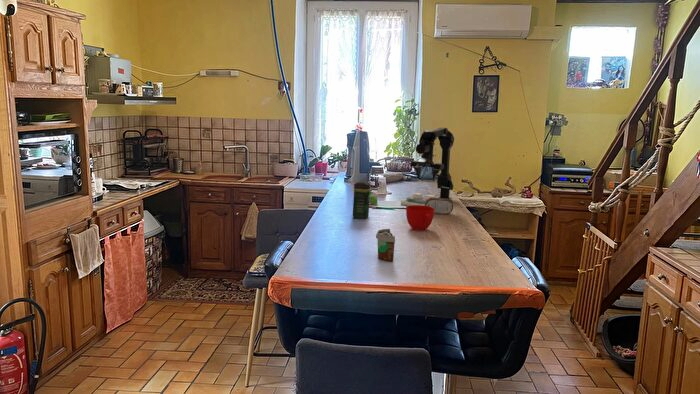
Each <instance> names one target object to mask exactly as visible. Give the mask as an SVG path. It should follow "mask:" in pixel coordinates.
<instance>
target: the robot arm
mask: <svg viewBox="0 0 700 394" xmlns="http://www.w3.org/2000/svg"><path fill="white" fill-rule="evenodd" d="M437 139H438V141H439V146H440V148H441V161H440V162H441V163H438V162H437V163H434V161H433V158H434V156H435V154H434V145H435V141H436V140H437ZM418 142H419V143H418V144H417V145H416V146H415V152H416V153H417V154H419V155H421V157H420V158H419V159H418V160H412V161H411V162H410V167H412V168H413V169H414V170H415V173H416V175H417V176H416V177H417V180H420V179H421V173H422V172H421V171H422V168H426V167H427V168H428V167H429V168H433V169H432V171H433V172H432V174H433V175H432V182H435V180H436V178H437V180H436V185H437V189H440V191H439V197H437V198H445V199H449V200H452V197H450V192H451V191H454V184H453V181H452V175H451V174H450V160H451V149H452V147H453V146H454V142H455V137H454V134H453V133H452V132H451V131H449V129H448V128H447V127H438V128H436V129H434V130H433V129H432V130H423V131H422V134H421V135H420V138H419V139H418ZM438 174H439V175H438Z"/></svg>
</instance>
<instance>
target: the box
mask: <svg viewBox="0 0 700 394" xmlns="http://www.w3.org/2000/svg"><path fill="white" fill-rule="evenodd" d="M412 202H415V200H414V201H411V200H409V201H408V199H407V198H406V199H404V200H401V201H400V205H401V204H402V205H401V206H405V205H407V206H412V205H421V206H425V203H426V202H423V203H422V202H420V203H421V204H420V203H419V201H416V202H415V203H412ZM417 202H418V203H417ZM407 206H406V207H407Z"/></svg>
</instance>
